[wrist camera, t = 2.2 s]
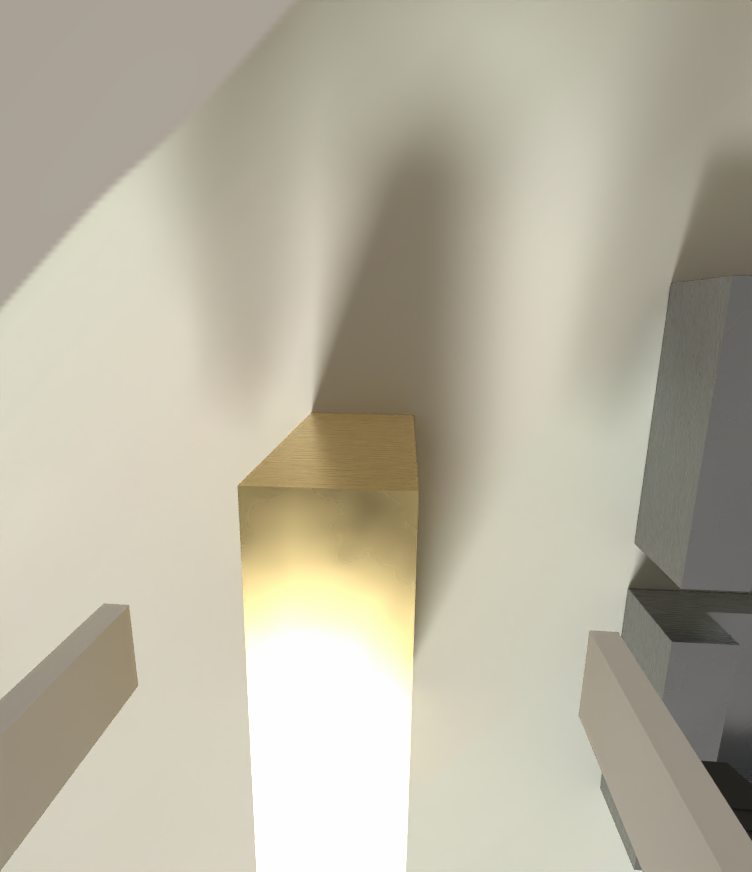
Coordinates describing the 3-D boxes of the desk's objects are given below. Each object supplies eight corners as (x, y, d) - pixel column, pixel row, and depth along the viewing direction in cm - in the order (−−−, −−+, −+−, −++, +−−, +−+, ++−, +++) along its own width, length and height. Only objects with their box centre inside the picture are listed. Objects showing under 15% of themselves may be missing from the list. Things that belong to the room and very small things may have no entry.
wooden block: (315, 675, 23) (258, 900, 14) (311, 412, 20) (237, 485, 11) (405, 680, 22) (404, 911, 14) (413, 414, 20) (418, 491, 11)
